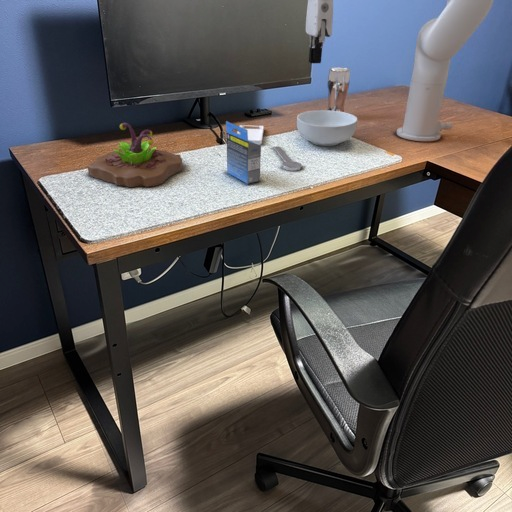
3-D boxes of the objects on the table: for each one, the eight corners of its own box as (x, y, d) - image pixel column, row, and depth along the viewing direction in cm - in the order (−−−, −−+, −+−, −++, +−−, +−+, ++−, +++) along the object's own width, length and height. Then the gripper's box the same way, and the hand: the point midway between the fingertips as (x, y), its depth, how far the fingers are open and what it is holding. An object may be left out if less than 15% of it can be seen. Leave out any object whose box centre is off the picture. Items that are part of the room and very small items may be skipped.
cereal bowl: (297, 132, 146) (299, 108, 142) (353, 135, 144) (356, 111, 141) (293, 149, 132) (295, 123, 128) (355, 153, 130) (359, 127, 126)
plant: (127, 152, 126) (122, 108, 121) (194, 163, 120) (192, 118, 114) (75, 178, 110) (66, 128, 105) (148, 192, 104) (143, 141, 98)
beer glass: (348, 115, 164) (354, 68, 157) (340, 120, 159) (345, 71, 151) (329, 112, 167) (334, 66, 160) (321, 116, 162) (325, 69, 155)
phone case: (261, 145, 134) (263, 130, 147) (261, 140, 133) (263, 125, 146) (234, 144, 134) (239, 129, 147) (234, 139, 134) (239, 124, 147)
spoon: (284, 148, 132) (284, 145, 132) (303, 170, 118) (303, 167, 117) (268, 148, 132) (268, 146, 131) (285, 171, 117) (285, 168, 117)
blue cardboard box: (261, 181, 111) (262, 127, 105) (247, 184, 109) (247, 130, 103) (239, 169, 117) (239, 118, 111) (225, 172, 115) (225, 120, 109)
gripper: (343, -9, 125) (336, 67, 135) (324, -11, 138) (318, 58, 147) (315, -9, 124) (310, 67, 133) (299, -11, 136) (294, 58, 146)
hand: (314, 62), depth 140 cm, fingers closed
